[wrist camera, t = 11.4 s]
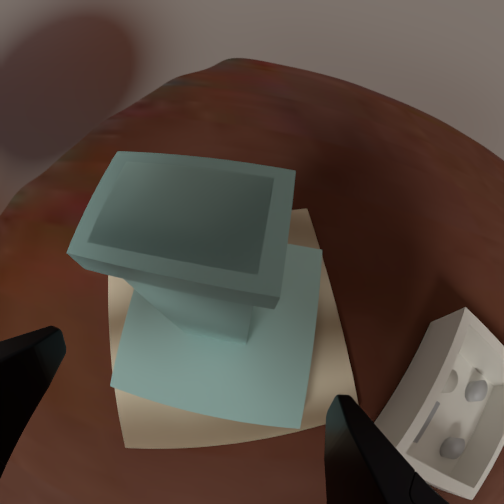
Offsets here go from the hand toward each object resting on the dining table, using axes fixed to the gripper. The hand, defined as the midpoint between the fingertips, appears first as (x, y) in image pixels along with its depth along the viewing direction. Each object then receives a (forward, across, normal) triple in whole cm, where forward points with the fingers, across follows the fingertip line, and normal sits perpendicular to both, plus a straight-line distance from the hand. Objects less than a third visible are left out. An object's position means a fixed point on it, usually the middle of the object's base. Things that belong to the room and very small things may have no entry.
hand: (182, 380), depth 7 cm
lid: (+8, 0, +3) cm, 8 cm away
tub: (+5, -16, +7) cm, 18 cm away
